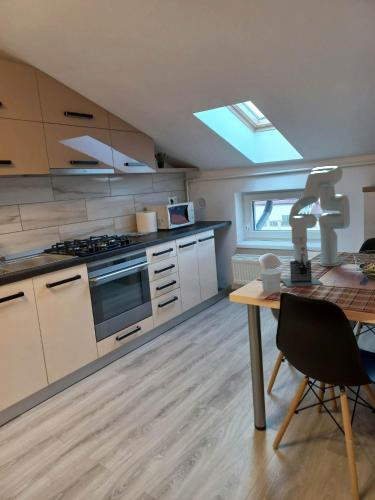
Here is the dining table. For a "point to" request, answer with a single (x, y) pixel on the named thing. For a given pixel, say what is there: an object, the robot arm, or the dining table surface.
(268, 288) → the cup
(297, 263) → the small box
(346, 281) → the dining table surface
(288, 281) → the mat
